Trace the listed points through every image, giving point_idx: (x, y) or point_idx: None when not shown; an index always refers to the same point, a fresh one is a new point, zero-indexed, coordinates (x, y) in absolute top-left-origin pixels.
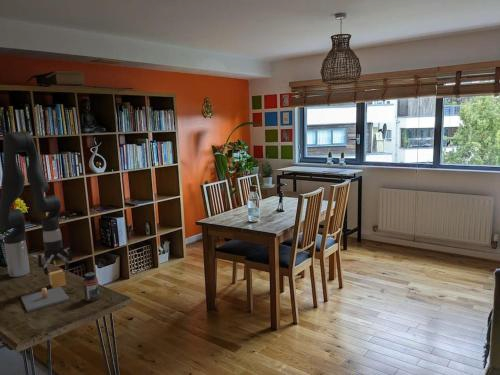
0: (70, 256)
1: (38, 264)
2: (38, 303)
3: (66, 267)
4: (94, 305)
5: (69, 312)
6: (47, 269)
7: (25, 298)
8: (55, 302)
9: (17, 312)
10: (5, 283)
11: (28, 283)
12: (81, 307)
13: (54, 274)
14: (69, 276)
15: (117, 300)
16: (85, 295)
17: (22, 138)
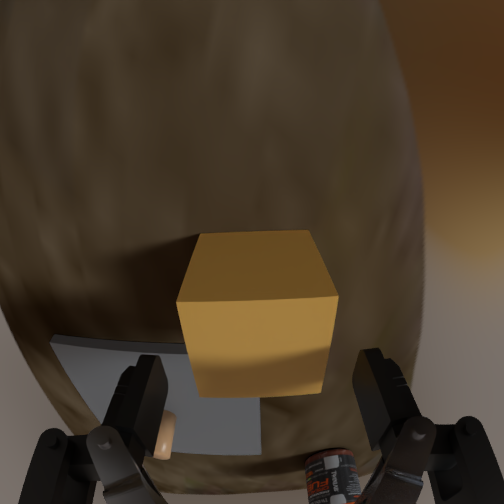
0: (445, 493)
1: (44, 457)
2: None
3: (362, 409)
4: None
5: (240, 478)
6: (156, 438)
7: (77, 374)
8: (207, 453)
9: (86, 419)
10: None
11: (53, 90)
12: (277, 474)
13: (229, 378)
14: (384, 141)
15: (368, 469)
16: (306, 480)
17: None
